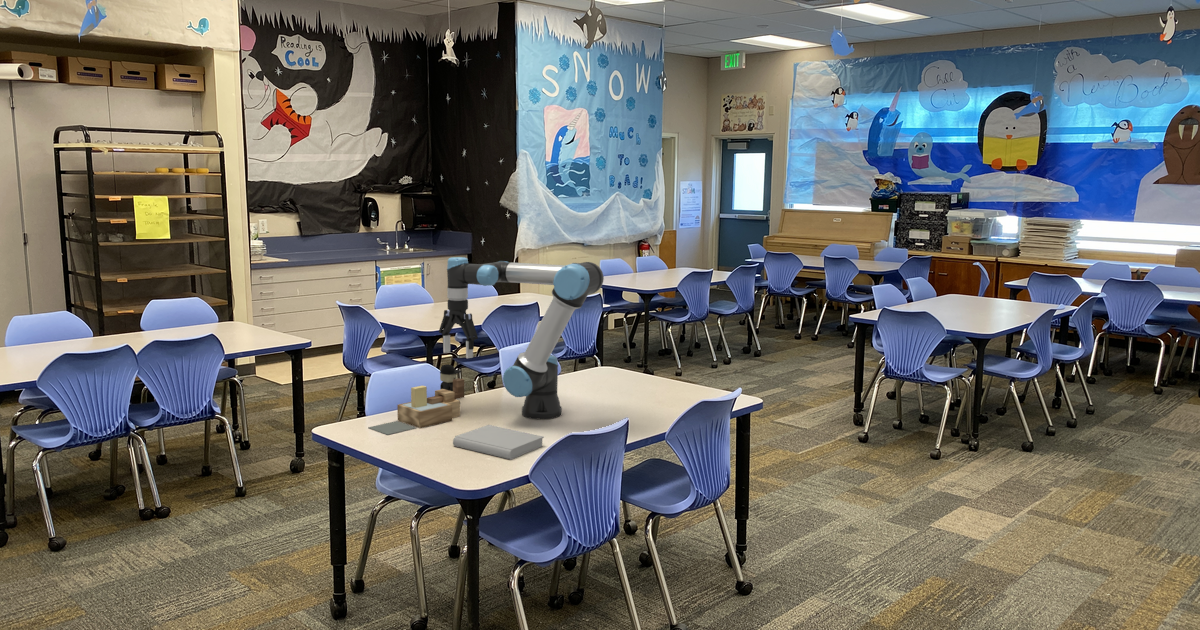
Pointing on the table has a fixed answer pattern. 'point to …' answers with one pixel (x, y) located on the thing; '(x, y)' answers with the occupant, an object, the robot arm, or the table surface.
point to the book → (498, 441)
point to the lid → (421, 399)
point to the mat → (392, 427)
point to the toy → (448, 377)
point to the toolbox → (431, 412)
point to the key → (457, 388)
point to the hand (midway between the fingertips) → (458, 355)
